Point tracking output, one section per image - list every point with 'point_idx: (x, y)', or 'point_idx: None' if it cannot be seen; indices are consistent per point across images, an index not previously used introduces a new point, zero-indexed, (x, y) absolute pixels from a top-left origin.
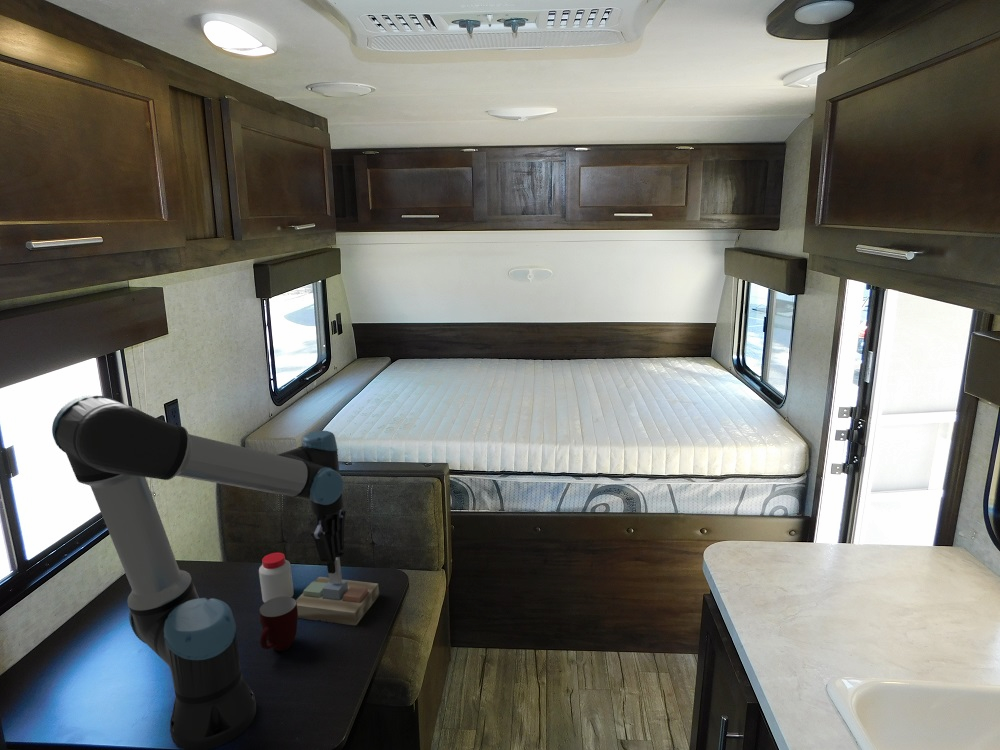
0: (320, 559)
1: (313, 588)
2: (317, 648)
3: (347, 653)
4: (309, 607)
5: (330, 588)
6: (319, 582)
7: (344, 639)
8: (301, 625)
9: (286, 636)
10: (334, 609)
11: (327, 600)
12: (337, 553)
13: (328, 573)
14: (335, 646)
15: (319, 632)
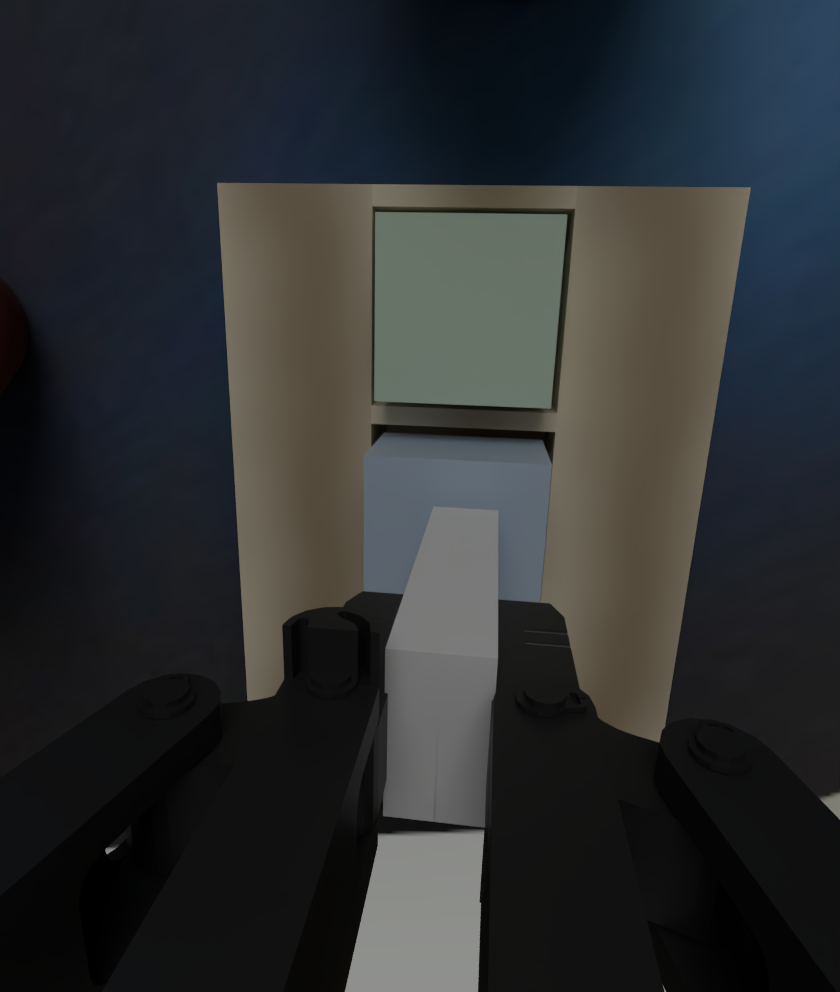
0: (85, 727)
1: (435, 302)
2: (31, 557)
3: (54, 729)
4: (229, 379)
5: (379, 534)
6: (556, 307)
7: (149, 672)
8: (192, 334)
9: None
10: (249, 597)
11: (351, 488)
12: (482, 868)
13: (421, 548)
14: (81, 648)
15: (162, 499)
